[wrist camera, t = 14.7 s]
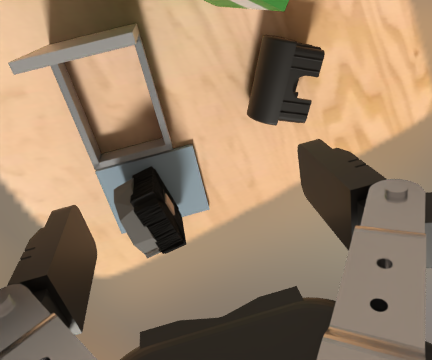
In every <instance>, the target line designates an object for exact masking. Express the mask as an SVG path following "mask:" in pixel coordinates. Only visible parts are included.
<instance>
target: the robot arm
mask: <svg viewBox="0 0 432 360" xmlns="http://www.w3.org/2000/svg"><path fill="white" fill-rule="evenodd" d="M298 159H299V168H300V178H301V185H302V188H303V192H304V194H305V196H306V198H307V200H308V201H309V202H310V203H311V204H312V206H313V207H314V208H315V209H316V211H317V212H318V213H319V214H320V216H321V217H322V218H323V219H324V221H325V222H326V223H327V224H328V226H329V227H330V228H331V229H332V231H334V233H335V234H336V236H337V237H338V238H339V239H340V240H341V242H342V243H343V244H344V245H345V247H346V248H347V249H348V250H349V252H348V256H347V260H346V264H345V268H344V272H343V276H342V279H341V283H340V287H339V291H338V295H337V299H336V301H334V300H329V299H323V298H309V297H308V298H302V296H301V294H300V292H299V290H298V288H297V286H295V287H292V288H289V289H285V290H282V291H278V292H275V293H271V294H268V295H265V296H261V297H258V298H257V299H255V300H253V301H251V302H249V303H247V304H246V305H244V306H242V307H240V308H238V309H236V310H234V311H233V312H231V313H229V314H227V315H225V316H223V317H220V318H209V319H196V320H181V321H176V322H173V323H170V324H166V325H163V326H159V327H156V328H153V329H149V330H146V331H142V332H140V346H139V347H138V348H136V349H134V350H132V351H131V352H129V353H128V354H126V355H125V356H124V357H123V358H121V359H120V360H432V344H431V343H429V342H426V341H425V307H426V268H432V192H431V193H425V191H424V189H423V188H422V187H421V186H420V185H418V184H416V183H414V182H411V181H408V180H402V179H388V180H387V179H386V178H384V177H383V176H382V175H380V174H379V173H378V172H376V171H375V170H374V169H372V168H371V167H369V166H368V165H366V163H364V162H363V161H362V160H359V158H358V157H356V156H355V155H354V154H352V153H351V152H349V151H346V150H342V149H339V148H335V149H332V148H331V147H329V146H328V145H327V144H326V143H324V142H323V141H322V140H320V139H317V140H313V141H310V142H306V143H302V144H299V145H298ZM20 259H21V261H19V263H18V264H17V266H16V269H15V271H14V273H13V275H12V277H11V279H10V281H9V283H8V285H7V286H6V287H4V288H1V289H0V360H97V359H96V358H95V357H94V356H93V355H92V353H91V352H90V351H89V350H88V349H87V348H86V347H85V346H84V345H83V344H82V343H81V341H80V340H79V339H78V338H77V337H76V336H75V335H77V334H80V333H82V331H83V325H84V320H85V315H86V310H87V305H88V300H89V295H90V290H91V285H92V280H93V275H94V270H95V265H96V260H97V249H96V244H95V241H94V239H93V237H92V235H91V233H90V231H89V228H88V226H87V224H86V222H85V220H84V218H83V216H82V214H81V212H80V210H79V208H78V207H77V206H76V205H72V206H69V207H65V208H61V209H57V210H54V211H52V212H51V214H50V216H49V218H48V221H47V223H46V225H45V227H44V228H41V229H40V230H39V231H38V232H37V233H36V234H35V235H34V236H33V237H32V238H31V239H30V240H29V242H28V244H27V246H26V248H25V252H24V253H23V254H22V256H21V258H20Z"/></svg>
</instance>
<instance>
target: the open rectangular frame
mask: <svg viewBox="0 0 432 360" xmlns="http://www.w3.org/2000/svg"><path fill="white" fill-rule="evenodd" d="M132 45H135V47H136V51H137V54H138V57H139V60H140V64H141V67H142V70H143V74H144V77H145V80H146V83H147V87H148V90H149V93H150V96H151V100H152V103H153V106H154V109H155V113H156V116H157V119H158V123H159V126H160V129H161V132H162V136H163V138H160V139H156V140H153V141H149V142H145V143H141V144H138V145H134V146H130V147H126V148H122V149H119V150H115V151H111V152H107V153H104V154H101V152H100V150H99V147H98V145H97V142H96V140H95V137H94V135H93V132H92V130H91V128H90V125H89V123H88V120H87V118H86V115H85V113H84V110H83V108H82V105H81V103H80V101H79V98H78V96H77V93H76V91H75V88H74V86H73V83H72V81H71V79H70V76H69V74H68V71H67V69H66V66H65V64H64V62H67V61H71V60H75V59H79V58H83V57H87V56H91V55H95V54H99V53H103V52H107V51H111V50H115V49H120V48H124V47H128V46H132ZM8 64H9V66H10V68H11V70H12V72H13V74H14V75H15V74H19V73H23V72H27V71H31V70H35V69H39V68H43V67H47V66H51V68H52V71H53V73H54V75H55V78H56V80H57V82H58V85H59V87H60V89H61V92H62V94H63V96H64V99H65V101H66V103H67V106H68V108H69V110H70V113H71V115H72V117H73V120H74V122H75V124H76V127H77V129H78V131H79V134H80V136H81V138H82V141H83V143H84V145H85V148H86V150H87V152H88V155H89V157H90V159H91V162H92V164H93V166H94V169H95V170H96V169H100V168H103V167H107V166H111V165H115V164H118V163H122V162H126V161H130V160H133V159H137V158H141V157H145V156H148V155H152V154H156V153H160V152H163V151H167V150H171V149H173V147H172V141H171V138H170V134H169V131H168V128H167V124H166V121H165V117H164V114H163V111H162V107H161V104H160V100H159V97H158V94H157V90H156V87H155V83H154V80H153V77H152V73H151V70H150V66H149V63H148V60H147V56H146V53H145V50H144V46H143V43H142V39H141V36H140V33H139V29H138V26H137V23H135V24H131V25H127V26H123V27H119V28H115V29H110V30H106V31H102V32H98V33H94V34H90V35H86V36H82V37H78V38H74V39H70V40H66V41H62V42H58V43H53V44H49V45H47V46H45V47H43V48H40V49H38V50H36V51H34V52H31V53H29V54H27V55H25V56H22V57H20V58H18V59H15V60H13V61H11V62H9V63H8Z"/></svg>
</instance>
